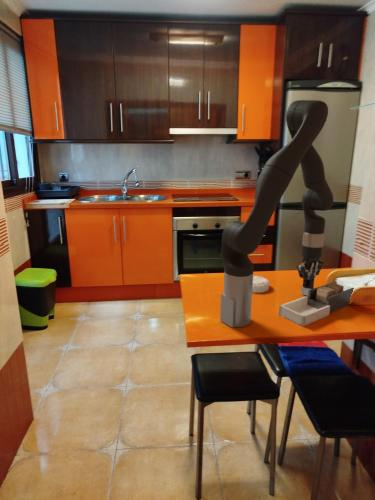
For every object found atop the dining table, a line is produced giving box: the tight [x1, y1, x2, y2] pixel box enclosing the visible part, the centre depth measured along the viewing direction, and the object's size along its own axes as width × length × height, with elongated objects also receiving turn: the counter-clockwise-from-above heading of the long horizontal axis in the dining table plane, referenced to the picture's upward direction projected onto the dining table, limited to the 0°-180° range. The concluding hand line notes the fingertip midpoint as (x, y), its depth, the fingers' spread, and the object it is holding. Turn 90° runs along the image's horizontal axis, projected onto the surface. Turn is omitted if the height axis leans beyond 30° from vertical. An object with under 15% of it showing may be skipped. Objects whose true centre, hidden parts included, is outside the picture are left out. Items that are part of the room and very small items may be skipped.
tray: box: [278, 295, 330, 327], centre depth 119 cm, size 14×10×4 cm
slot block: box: [307, 281, 355, 314], centre depth 126 cm, size 16×8×6 cm, turn 124°
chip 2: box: [327, 282, 345, 295], centre depth 127 cm, size 4×4×4 cm
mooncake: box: [252, 275, 270, 294], centre depth 143 cm, size 12×12×4 cm
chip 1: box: [316, 286, 334, 303], centre depth 124 cm, size 4×4×4 cm
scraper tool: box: [300, 272, 316, 297], centre depth 134 cm, size 2×5×9 cm, turn 35°
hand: (308, 286), depth 134 cm, fingers closed on scraper tool, 2 cm apart
